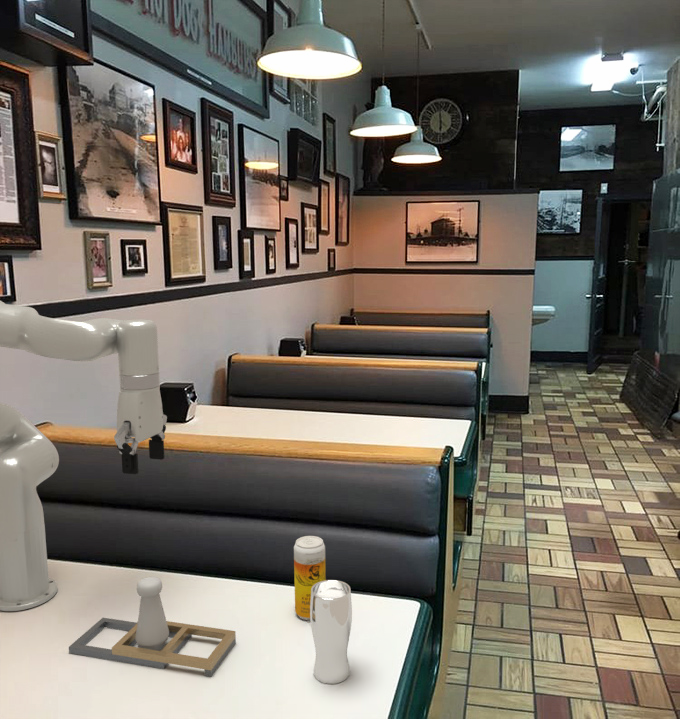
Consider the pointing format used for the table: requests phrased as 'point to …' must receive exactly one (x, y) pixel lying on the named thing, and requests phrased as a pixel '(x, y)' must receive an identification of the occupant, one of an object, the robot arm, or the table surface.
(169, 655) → the gold rectangular frame
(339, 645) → the beer glass
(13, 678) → the table surface
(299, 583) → the beer can
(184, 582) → the table surface
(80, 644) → the grey rectangular frame
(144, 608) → the salt shaker
